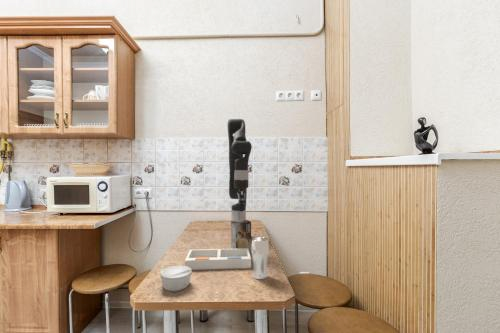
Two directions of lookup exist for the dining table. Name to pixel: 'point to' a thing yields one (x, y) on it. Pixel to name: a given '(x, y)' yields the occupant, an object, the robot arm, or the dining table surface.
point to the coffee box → (241, 234)
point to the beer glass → (260, 257)
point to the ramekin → (176, 277)
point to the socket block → (218, 259)
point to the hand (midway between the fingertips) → (241, 209)
